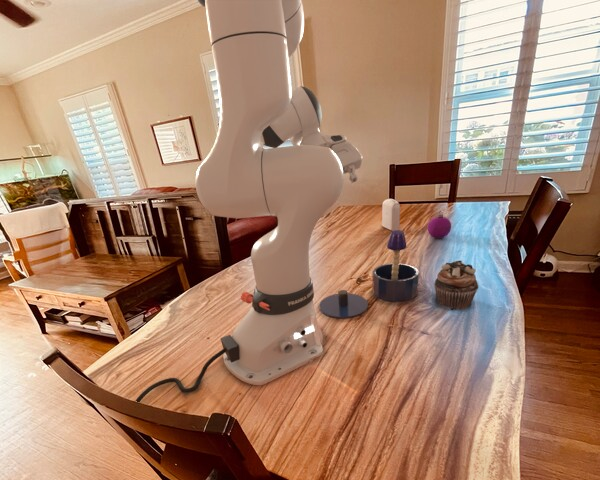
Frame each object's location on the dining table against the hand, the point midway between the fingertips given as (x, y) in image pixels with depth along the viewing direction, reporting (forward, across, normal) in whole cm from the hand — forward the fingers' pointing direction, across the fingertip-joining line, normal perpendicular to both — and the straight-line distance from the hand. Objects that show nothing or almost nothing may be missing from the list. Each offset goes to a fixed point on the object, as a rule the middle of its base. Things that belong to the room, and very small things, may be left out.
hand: (340, 186), depth 86 cm
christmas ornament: (+12, +40, +35) cm, 55 cm away
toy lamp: (+31, +1, +10) cm, 33 cm away
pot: (+31, +1, +11) cm, 33 cm away
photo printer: (-6, +34, +48) cm, 59 cm away
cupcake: (+41, +10, +6) cm, 43 cm away
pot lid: (+29, -14, +8) cm, 33 cm away
